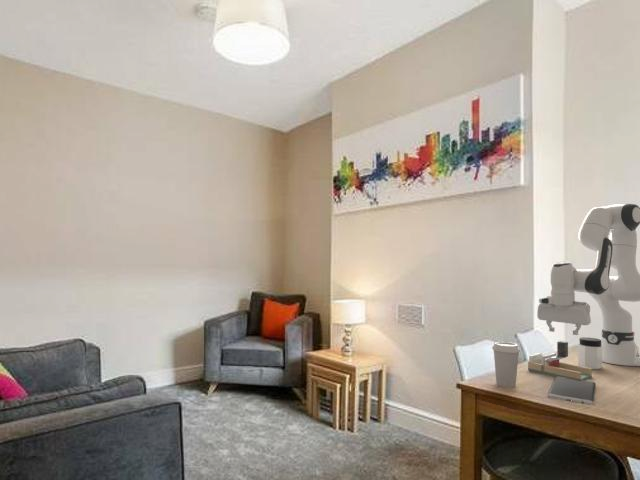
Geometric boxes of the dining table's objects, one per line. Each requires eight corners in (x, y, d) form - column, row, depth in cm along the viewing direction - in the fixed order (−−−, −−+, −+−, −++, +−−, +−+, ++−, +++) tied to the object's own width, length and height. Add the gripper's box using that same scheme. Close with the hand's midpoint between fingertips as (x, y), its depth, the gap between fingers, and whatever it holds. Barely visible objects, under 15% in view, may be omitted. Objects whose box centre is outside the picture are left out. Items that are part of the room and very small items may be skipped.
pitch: (540, 366, 189) (540, 350, 189) (591, 377, 173) (591, 359, 173) (528, 370, 182) (528, 353, 182) (580, 382, 166) (580, 363, 167)
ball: (550, 356, 182) (556, 366, 180) (542, 360, 185) (547, 369, 183) (546, 358, 180) (551, 367, 178) (538, 361, 182) (543, 371, 181)
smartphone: (546, 399, 148) (546, 394, 148) (555, 380, 171) (555, 375, 171) (593, 407, 141) (593, 401, 141) (595, 386, 163) (595, 381, 163)
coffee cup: (524, 385, 161) (524, 344, 162) (514, 390, 155) (514, 347, 155) (498, 379, 168) (498, 340, 168) (487, 384, 161) (487, 343, 162)
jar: (601, 366, 191) (601, 338, 192) (603, 370, 184) (603, 341, 185) (577, 363, 196) (577, 336, 196) (579, 367, 188) (579, 339, 189)
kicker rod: (560, 365, 186) (560, 341, 187) (567, 366, 184) (567, 342, 184) (544, 370, 177) (544, 345, 177) (551, 372, 175) (551, 346, 175)
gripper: (593, 301, 179) (593, 335, 179) (542, 297, 195) (542, 328, 195) (586, 303, 175) (587, 338, 175) (535, 298, 191) (535, 330, 191)
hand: (563, 333), depth 185 cm, fingers open, 8 cm apart
